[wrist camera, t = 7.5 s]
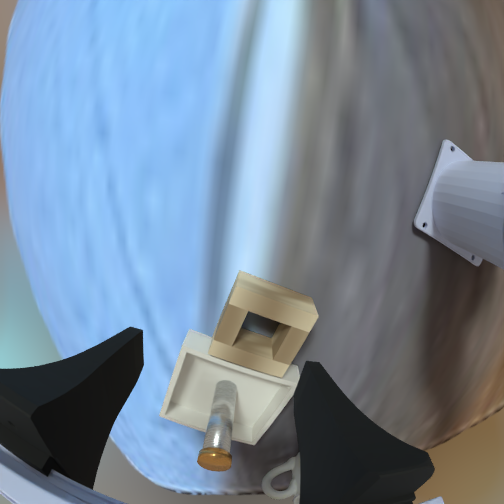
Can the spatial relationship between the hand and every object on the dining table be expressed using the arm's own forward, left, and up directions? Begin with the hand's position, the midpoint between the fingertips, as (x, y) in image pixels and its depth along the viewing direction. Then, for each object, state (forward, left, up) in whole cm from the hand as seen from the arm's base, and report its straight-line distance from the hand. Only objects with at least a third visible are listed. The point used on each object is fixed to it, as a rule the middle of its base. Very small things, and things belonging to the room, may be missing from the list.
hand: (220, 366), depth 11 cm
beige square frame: (-3, +2, -10) cm, 11 cm away
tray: (-3, +11, -10) cm, 15 cm away
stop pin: (-3, +11, -10) cm, 15 cm away
